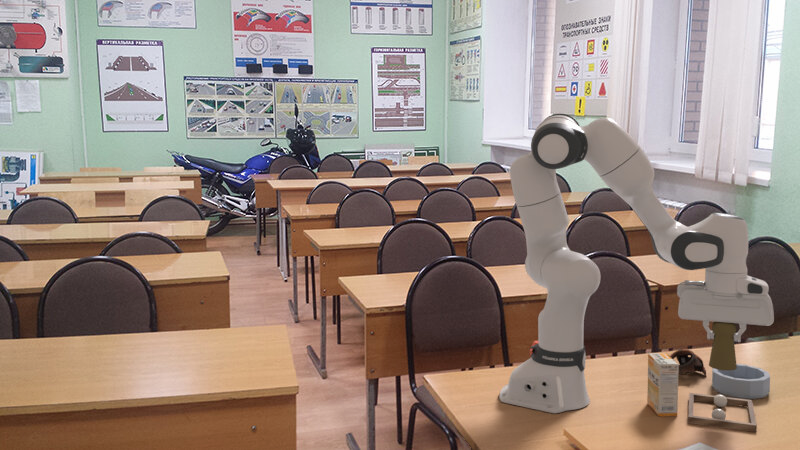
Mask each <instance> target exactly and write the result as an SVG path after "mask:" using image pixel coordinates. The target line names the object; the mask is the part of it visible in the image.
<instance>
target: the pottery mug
mask: <svg viewBox="0 0 800 450" xmlns="http://www.w3.org/2000/svg"><path fill="white" fill-rule="evenodd" d="M669 356H670V357H671V358H672V359H673V360H675V358H676V360H677V363H678V364H679V372H678V375H683V374H687V373H693V374H695V373H696V372H699V373H702V374H703V376H704V378H707V370H706V368H705V366H704V362H703V359H702V357H700V356H699V355H697V354H696V353H695V352H693V351H692V350H690V349H688V348H687V349H684V348H679V349H678V350H676V351H674V352H672V353H671V354H669Z"/></svg>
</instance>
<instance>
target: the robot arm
mask: <svg viewBox="0 0 800 450" xmlns="http://www.w3.org/2000/svg"><path fill="white" fill-rule="evenodd" d="M530 142H531V143H530V149H531V151H530V152H528V153H526V154H523V155H521V156H519V157H517V158H516V159H515V160H514V161H513V162H512V163H511V165H510V168H509V178H510V184H511V188H512V194H513V198H514V202H515V206H516V208H517V212H518V214H519V218H520V221H521V225H522V227H523V230H524V236H525V241H526V243H525V244H526V253H527V255H526V258H525V261H524V269H525V272H526V274H527V275H528V277H529V278H530V279H531V280H532V281H534V283H535V284H537V285H538V286H540V287H543V288H545V289H546V291H547V296H546V300H545V304H544V307H543V309H542V310H541V311H540V312H539V314H538V318H537V322H538V323H537V324H538V325H537V327H538V336H537V337H538V339H537V340H534V341H533V342H532V344H531V347H530V350H529V355H530V358H528V359H527V360H525V361H524V362H521V364H519V365H518V366H516V367H515V368H514V369H513V370H512V372H511V374H510V376H509V379H508V380H509V381H508V384H505V385H504V386H503V387H502V388H501V390H500V392H499V396H498V397H499V401H500V402H502V403H505V404H508V405H509V404H510V405H513V406H514V405H515V406H518V407H519V406H520V407H523V408H527V409H532V410H536V411H541V412H546V413H550V414H558V413H559V414H560V413H562V412H566V411H573V410H579V409H582V408H585V407H587V406H588V405H589V404H590V403H591V401H590V397H589V395H588V389H587V385H586V378H585V368H586V359H587V358H586V347H585V345H584V326H585V325H584V323H585V321H584V320H585V314H586V310H587V306H588V303H589V300H590V297H591V296H592V295H593V294H594V293H596V291H597V290H598V289H599V286H600V284H601V277H602V276H601V271H600V268H599V267H598V265H597V264H596V263H595V262H594V261H593V260H591V259H590V257H588V256H586V255H585V254H583V253H580V252H577V251H573V250H571V249H570V247H569V245H568V243H567V228H568V227H569V224H570V218H569V215H568V213H567V209H566V205H565V202H564V199H563V196H562V193H561V192H562V191H561V189H560V186H559V183H558V180H557V179H558V178H557V170H559V169H564V168H566V167H569V166H572V165H574V164H577V163H581V162H583V160H584V161H586V162H587V163H588V164H589V165H590V166H591V167H592V168H593V169H594V171H595V172H596V173H597V174H598V176H599V177H600V178H601V180H602V181H603V183H605V184H606V185H607V187H609V189H611V190H612V191H613V193H615V194H616V195H617V196H618V197H619V198H621V199H622V200H623V201H624V202H626V203H627V204H628V205H629V206H630V208H631V209H632V211H633V212H634V213H635V215H637V218H639V220H640V221H641V223H642V224H643V225H644V227H645V228H646V229H647V231H648V233H649V235H650V240H651V243H652V248H653V251H654V253H655V254H656V256H657V257H658V258H659V259H660V260H662V261H664V262H666V263H669V264H671V265H674V266H675V267H678V268H680V269H682V270H686V271H697V270H703V269H704V271H705V272H704V273H705V274H704V275H705V276H704V280H684V281H682V282H679V284H678V285H677V288H676V294H677V297H678V298H679V302H678V307H677V308H678V310H677V311H678V312H677V315H678V317H679V318H680V319H681V320H688V321H700V322H701V321H702V327H703V328H704V330H705V332H706V333H707V336H706V337H707V340H711V341H713V340H714V333H713V331H712V330H711V329H710V327H709V326H710V322H712V323H714V322H726V323H735V324H738V326H739V330H738V331H736V333H735V334H734V336H733V337H734V343H735V342H736V343H741V339H742V338H741V336H742V335H743V334H744V333H745V331H746V330H747V325H754V326H767V327H769V326H771V325H772V324H773V323H774V322H775V316H774V315H775V314H774V313H775V312H774V304H773V302H772V298H771V296H770V295H769V291H770V290H769V289H770V288H769V285H768V283H767V282H766V281H765V280H763V279H759V278H756V277H753V276H750V275H748V267H747V258H748V254H749V231H748V230H749V229H748V225H747V222H746V220H745V219H744V218H742V217H741V216H738V215H733V214H729V213H723V212H713V213H711V214H710V215H709V216H707V217H706V218H704V219H703V220H700V221H699V222H697V223H695V224H693V225H689V226H687V225H685V224H683V223H681V222H680V221H677V220H676V219H674V218H673V217H672V216H671V214H670V212H668V210H667V209H666V207H665V206H664V205H663V203H662V202H661V201H660V199H659V198H658V196H657V194H656V193H655V191H654V188H653V183H654V179H655V168H654V167H653V165H652V163H651V161H650V159H649V157H648V156H647V154H646V152H645V151H644V150H643V149H642V148H641V146H640V144H638V142H637V141H636V140H635V139H634V138H633V137H632V135H631V134H629V133H628V132H627V130H626V129H624V128H623V126H621V124H619V123H618V122H617V121H616V120H614V119H612V118H610V117H600V118H598V119H597V118H596V119H594V120H593V121H591V122H589V123H588V124H587V125H586V124H585V125H583V126H582V125H580V124H579V122H578V121H577V119H575V118H574V117H572V116H571V115H568V114H566V113H555V114H551V115H549V116H548V117H546V118H545V119H543V120H542V121H541V123H539V124H538V126H537V127H536V129H535V130H534V133H533V136H532V138H531V141H530Z"/></svg>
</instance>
